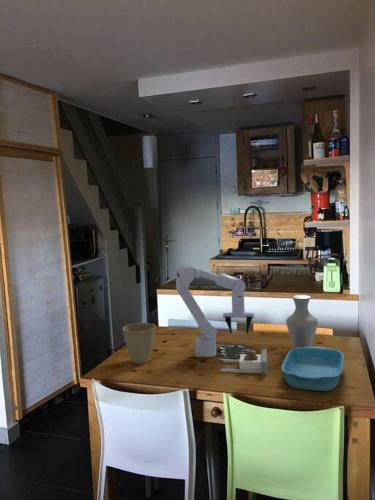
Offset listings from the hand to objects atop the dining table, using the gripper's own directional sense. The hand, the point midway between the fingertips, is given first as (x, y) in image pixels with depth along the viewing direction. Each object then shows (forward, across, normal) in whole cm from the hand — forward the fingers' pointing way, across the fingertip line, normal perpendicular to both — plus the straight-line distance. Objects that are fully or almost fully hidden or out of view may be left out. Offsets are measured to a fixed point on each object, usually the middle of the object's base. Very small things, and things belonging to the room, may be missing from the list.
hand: (239, 332), depth 204 cm
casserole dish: (+10, +31, -26) cm, 42 cm away
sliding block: (+8, +6, -21) cm, 23 cm away
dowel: (+9, +6, -21) cm, 23 cm away
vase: (+10, +29, +7) cm, 31 cm away
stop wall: (+9, +12, -21) cm, 26 cm away
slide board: (+9, +3, -21) cm, 23 cm away
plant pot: (+10, -44, -14) cm, 47 cm away
